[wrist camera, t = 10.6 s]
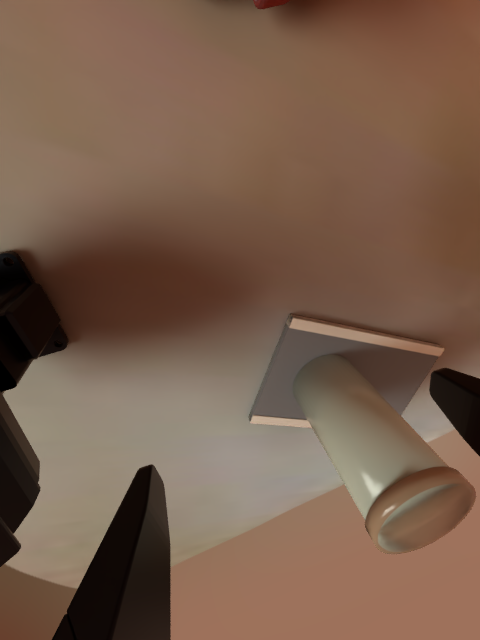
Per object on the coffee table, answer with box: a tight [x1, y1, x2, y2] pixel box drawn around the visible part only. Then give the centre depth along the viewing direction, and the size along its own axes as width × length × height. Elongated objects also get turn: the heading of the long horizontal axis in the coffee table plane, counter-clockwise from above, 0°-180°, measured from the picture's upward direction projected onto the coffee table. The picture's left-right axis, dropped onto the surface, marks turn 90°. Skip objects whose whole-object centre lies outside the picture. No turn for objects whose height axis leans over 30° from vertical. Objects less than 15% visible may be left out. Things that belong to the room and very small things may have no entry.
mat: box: [248, 314, 445, 428], centre depth 27 cm, size 15×10×1 cm, turn 72°
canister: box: [293, 355, 476, 554], centre depth 21 cm, size 6×6×12 cm
